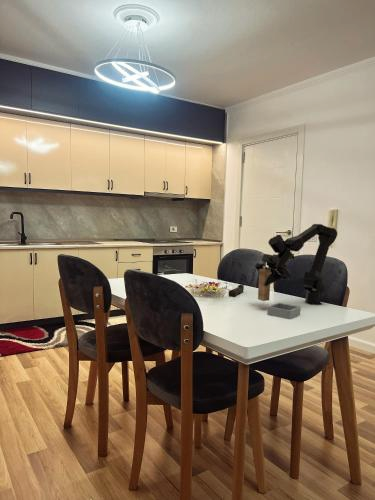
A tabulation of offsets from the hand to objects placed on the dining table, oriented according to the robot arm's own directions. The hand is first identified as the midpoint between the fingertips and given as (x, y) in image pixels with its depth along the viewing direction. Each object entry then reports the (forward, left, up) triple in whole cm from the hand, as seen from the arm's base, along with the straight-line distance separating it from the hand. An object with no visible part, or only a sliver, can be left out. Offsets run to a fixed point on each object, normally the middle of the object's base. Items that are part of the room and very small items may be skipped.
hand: (262, 284), depth 171 cm
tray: (-8, +9, -11) cm, 16 cm away
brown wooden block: (-1, -1, -7) cm, 7 cm away
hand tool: (+4, -35, -12) cm, 37 cm away
